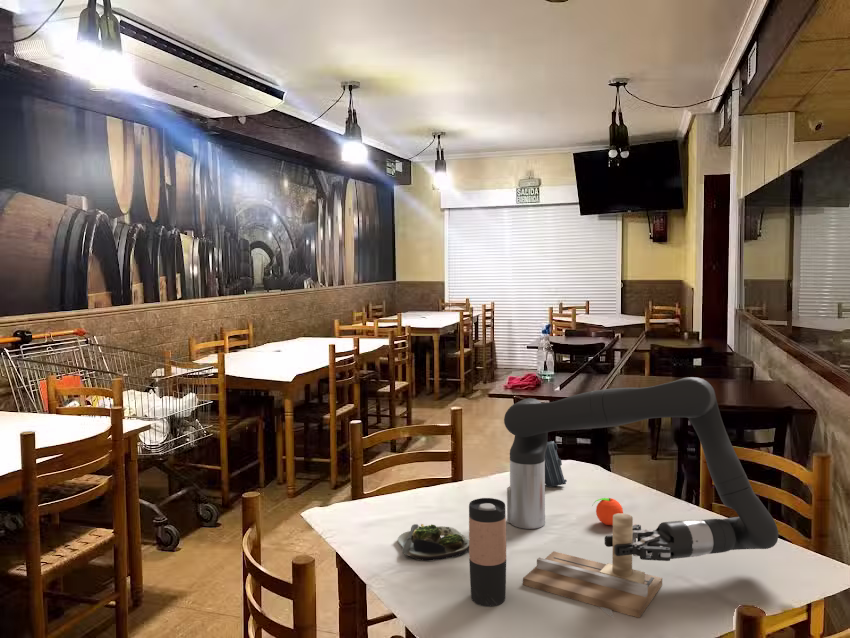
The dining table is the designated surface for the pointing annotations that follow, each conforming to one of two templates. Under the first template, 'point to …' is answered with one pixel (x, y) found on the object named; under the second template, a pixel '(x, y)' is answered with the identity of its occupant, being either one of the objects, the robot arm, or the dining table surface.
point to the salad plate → (433, 542)
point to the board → (591, 584)
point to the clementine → (607, 510)
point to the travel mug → (487, 551)
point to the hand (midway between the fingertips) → (610, 545)
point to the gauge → (623, 564)
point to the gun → (553, 466)
